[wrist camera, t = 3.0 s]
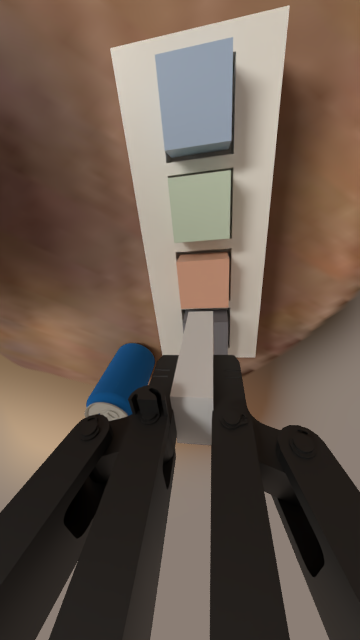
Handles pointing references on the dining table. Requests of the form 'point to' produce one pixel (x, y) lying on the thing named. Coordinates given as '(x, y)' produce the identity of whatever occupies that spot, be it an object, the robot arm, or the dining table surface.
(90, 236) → the dining table surface
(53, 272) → the dining table surface
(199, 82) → the slate key
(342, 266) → the dining table surface
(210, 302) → the terracotta key
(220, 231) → the sage key
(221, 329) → the charcoal key
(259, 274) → the keypad
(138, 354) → the beverage can
